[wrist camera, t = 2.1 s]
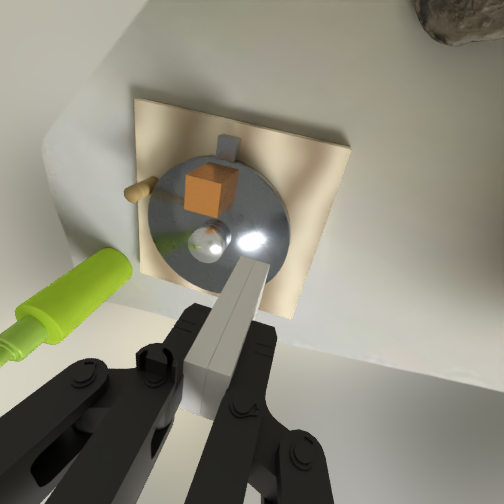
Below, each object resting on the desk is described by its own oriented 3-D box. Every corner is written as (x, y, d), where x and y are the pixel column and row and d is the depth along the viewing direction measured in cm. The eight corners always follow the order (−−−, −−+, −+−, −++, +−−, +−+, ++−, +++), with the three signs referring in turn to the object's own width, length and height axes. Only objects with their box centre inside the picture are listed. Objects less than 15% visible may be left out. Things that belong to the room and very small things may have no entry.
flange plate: (273, 302, 35) (262, 341, 29) (155, 266, 37) (124, 296, 31) (315, 155, 25) (311, 172, 20) (154, 117, 27) (109, 123, 22)
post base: (350, 147, 27) (355, 159, 22) (292, 312, 38) (287, 345, 33) (142, 98, 29) (103, 99, 24) (146, 267, 41) (120, 291, 36)
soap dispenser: (142, 265, 41) (10, 386, 24) (120, 287, 44) (-9, 406, 27) (111, 236, 40) (-52, 342, 23) (91, 261, 43) (-63, 369, 26)
